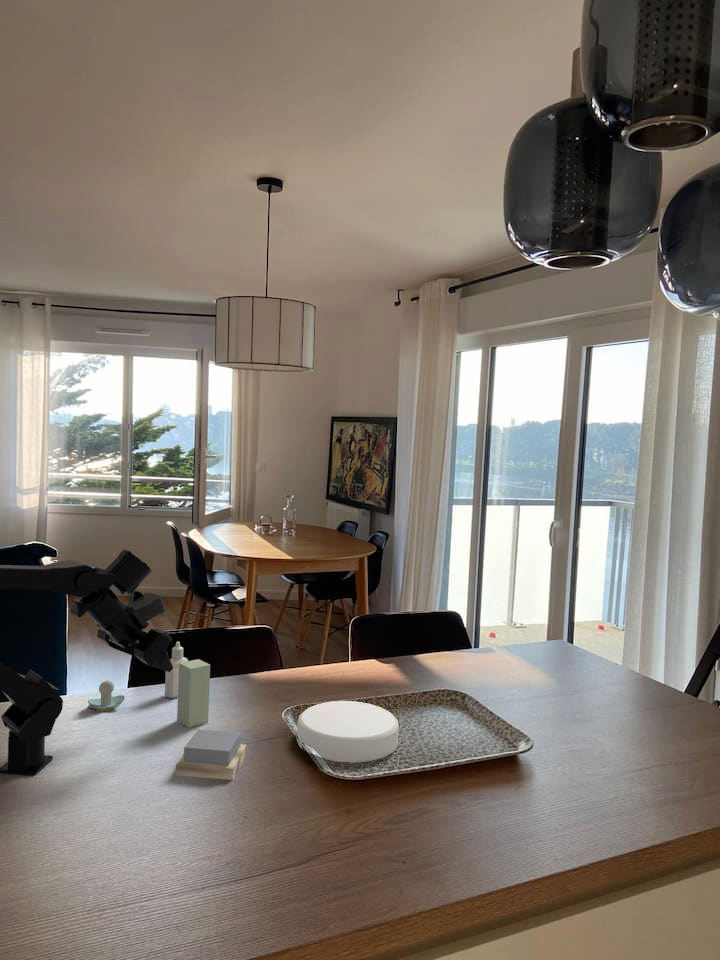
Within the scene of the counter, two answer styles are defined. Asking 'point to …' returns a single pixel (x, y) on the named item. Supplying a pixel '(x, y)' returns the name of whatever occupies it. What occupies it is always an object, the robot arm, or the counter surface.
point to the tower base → (211, 767)
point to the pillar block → (193, 693)
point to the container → (348, 731)
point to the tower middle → (212, 747)
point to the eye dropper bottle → (174, 672)
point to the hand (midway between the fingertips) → (158, 663)
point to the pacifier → (106, 698)
